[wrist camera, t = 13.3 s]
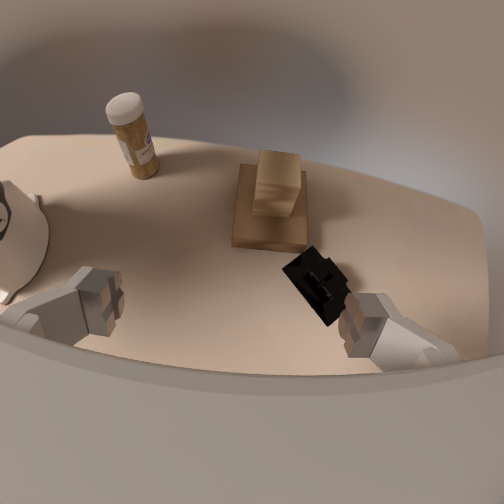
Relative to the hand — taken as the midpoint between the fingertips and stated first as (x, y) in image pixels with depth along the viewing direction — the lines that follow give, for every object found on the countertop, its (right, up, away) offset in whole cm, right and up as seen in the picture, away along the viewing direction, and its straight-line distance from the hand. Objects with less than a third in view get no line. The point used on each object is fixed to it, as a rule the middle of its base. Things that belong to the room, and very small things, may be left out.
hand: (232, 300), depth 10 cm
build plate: (+9, -3, +27) cm, 29 cm away
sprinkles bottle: (-15, +14, +31) cm, 37 cm away
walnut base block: (+3, +7, +29) cm, 30 cm away
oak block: (+3, +8, +26) cm, 28 cm away
